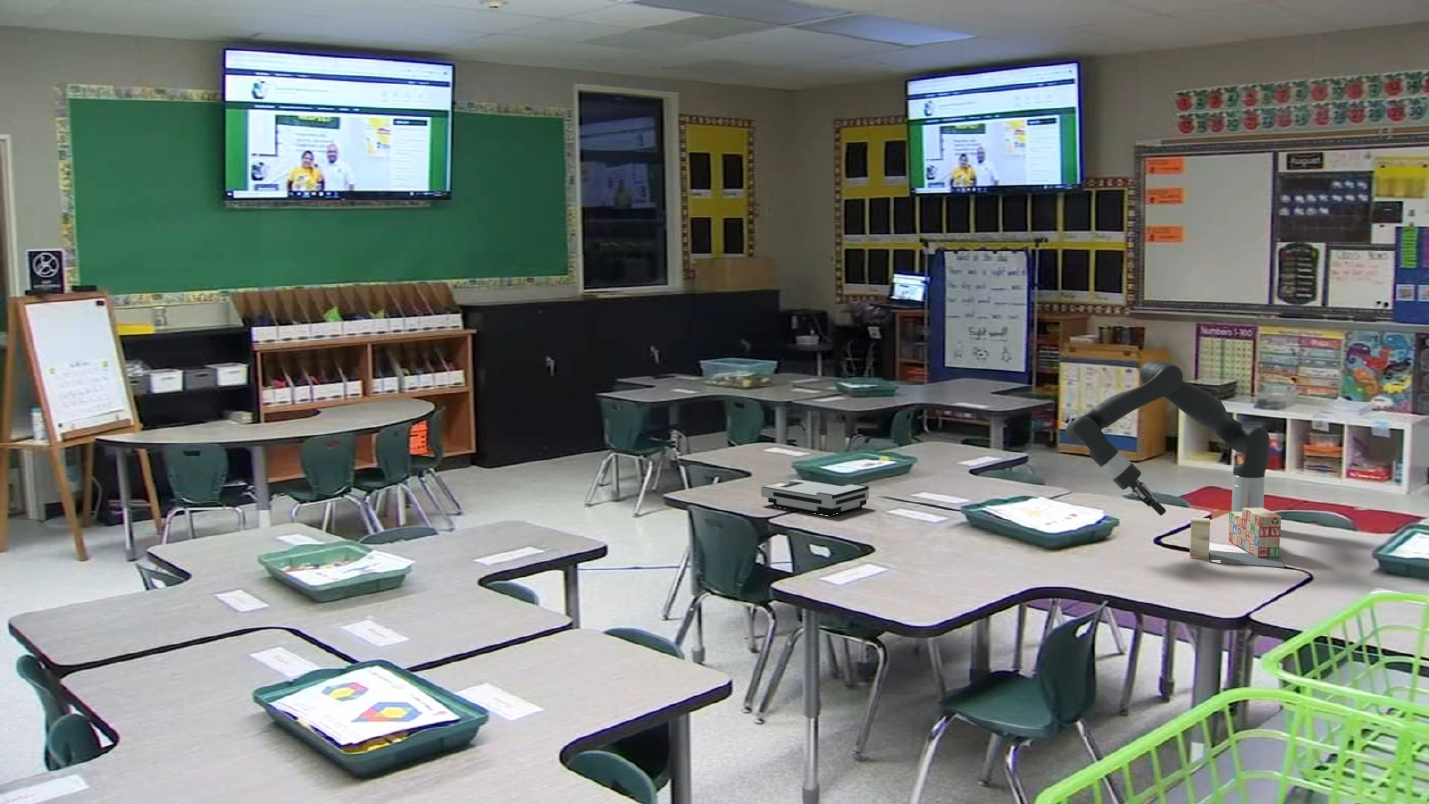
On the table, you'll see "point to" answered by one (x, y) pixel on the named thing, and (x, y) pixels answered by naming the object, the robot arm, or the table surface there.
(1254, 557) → the mat
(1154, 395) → the robot arm
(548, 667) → the table surface
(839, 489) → the gray game console
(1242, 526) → the stack of blocks
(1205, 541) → the maple block
